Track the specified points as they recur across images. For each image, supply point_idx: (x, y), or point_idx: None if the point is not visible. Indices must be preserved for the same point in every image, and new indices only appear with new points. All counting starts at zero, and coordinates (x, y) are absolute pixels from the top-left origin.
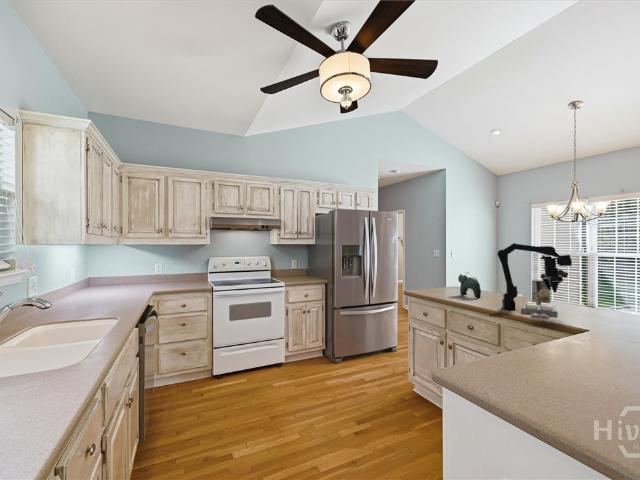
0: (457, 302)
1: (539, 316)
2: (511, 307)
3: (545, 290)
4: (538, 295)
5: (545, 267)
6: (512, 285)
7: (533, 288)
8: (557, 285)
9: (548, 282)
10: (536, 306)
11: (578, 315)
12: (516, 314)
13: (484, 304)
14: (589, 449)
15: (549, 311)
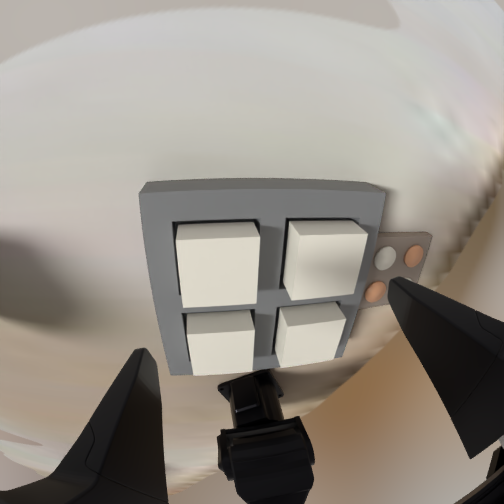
0: (216, 470)
1: (420, 270)
2: (273, 389)
3: None
4: None
5: None
6: (304, 500)
7: None
8: (502, 329)
9: (133, 483)
10: (343, 315)
11: (248, 38)
12: (367, 346)
13: (196, 441)
14: None
15: (375, 236)
